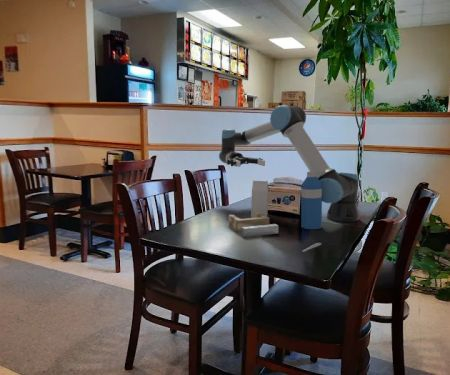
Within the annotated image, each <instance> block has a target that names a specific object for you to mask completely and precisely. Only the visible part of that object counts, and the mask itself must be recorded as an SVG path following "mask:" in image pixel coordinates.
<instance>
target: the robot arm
mask: <svg viewBox="0 0 450 375" xmlns="http://www.w3.org/2000/svg"><path fill="white" fill-rule="evenodd" d="M270 113H271V114H270V118H269V121H267V122H265V123H262V124H259V125H257V126H255V127H252V128H249V129H247V130H244V131H241V132H240V131H239V132H236V129H233V128H231V129H230V128H226V129H225V128H223V129H222V131H221V132H222V133H221V151H220V152H219V153H218V159H219V161H221V162H222V163H223V164H226V165H228V166H229V165H230V167H239V168H241V166H242V165H249V164H252V165H253V164H255V165H259V166H262V167H265V166H266V160H264V158H261V157H259V158H255V157H250V156H249V157H247V156H243V154H242V153H240V152H237V151H236V150H235V149H236V146H248V145H250V144H251V143H253V142H257V141H259V140H262V139H265V138H267V137H270V136H273V135H277V134H279V133H281V135H282V136H283V137H284V138H286V139H287V138H288V140H289V142H290V143H291V144H292V146H293V147H294V149H295V151H296V152H297V154H298V155H299V156H300V157H299V158H300V159H301V160H302V161H303V163H304V165H305V167H306V168H307V170H309V171H308V172H316V177H317V178H318V179H319V181H320V182H321V183H322V203H326V204H330V206H329V207H328V210H327V213H326V218H327V219H328V220H330V221H331V220H332V221H335V222H339V223H340V222H343V223H355V222H358V221H359V218H360V217H359V216H360V215H359V211H358V207H357V199H358V188H359V175H358V174H356V173H351V172H350V173H349V172H339V171H337V170H336V169H334V168H331V167H330V166H329V164H328V163H327V161H326V159H324V157H323V156H322V154H321V152H320V151H319V150H318V148H317V147H316V145H315V143H314V142H313V140H312V139H311V137H310V136H309V135H308V133H307V132H306V130H305V128H304V125H305V123H306V120H307V113H306V112H305V110H304V109H303V108H302V107H300V106H296V105H286V104H283V105H278V106H276V107H274V109H273V110H272V111H271V112H270Z"/></svg>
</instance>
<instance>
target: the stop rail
mask: <svg viewBox="0 0 450 375" xmlns="http://www.w3.org/2000/svg"><path fill="white" fill-rule="evenodd" d="M276 234H279V225H278V224H276V223H272V224H271V223H270V224H269V225H260V226H250V227H242V232H241V236H242V237H244V238H248V237H256V236H257V237H258V236H267V235H276Z"/></svg>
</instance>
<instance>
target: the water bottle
mask: <svg viewBox="0 0 450 375" xmlns="http://www.w3.org/2000/svg"><path fill="white" fill-rule="evenodd" d="M300 186H301V189H300V190H301V192H300V193H301V194H300V196H301V197H300V198H301V199H300V200H301V201H300V203H301V205H300V206H301V208H300V215H301V217H300V218H301V219H300V222H301V223H300V224H301V226H300V227H301V228H302V229H306V230H319V229H321V228H322V227H323V226H322V224H323V223H322V222H323V221H322V220H323V216H322V215H323V214H322V212H323V201H322V183H321V182H320V181H319V179H318V178H317V177H316V172H310V171H307V172H306V178H305V179H304V180H303V182H302V183H301V184H300Z"/></svg>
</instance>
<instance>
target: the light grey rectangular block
mask: <svg viewBox="0 0 450 375" xmlns="http://www.w3.org/2000/svg"><path fill="white" fill-rule="evenodd" d="M268 204H269V181H267V180H252V187H251V206H250V218H255V213H258V212H259V213H261V214H263V215H264V216H266V217H268V206H269V205H268Z"/></svg>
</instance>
